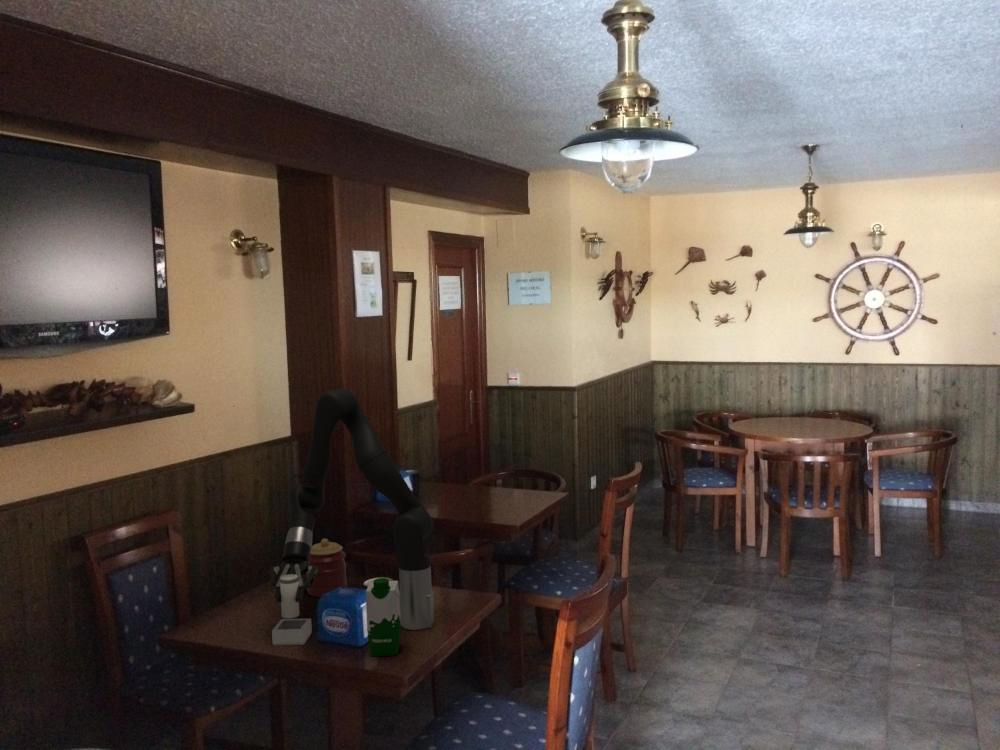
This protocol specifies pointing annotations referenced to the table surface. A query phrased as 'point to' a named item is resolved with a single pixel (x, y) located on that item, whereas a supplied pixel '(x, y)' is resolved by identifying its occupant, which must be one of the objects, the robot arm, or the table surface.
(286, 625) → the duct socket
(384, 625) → the milk carton
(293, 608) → the white cylinder
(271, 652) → the table surface
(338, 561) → the canister
